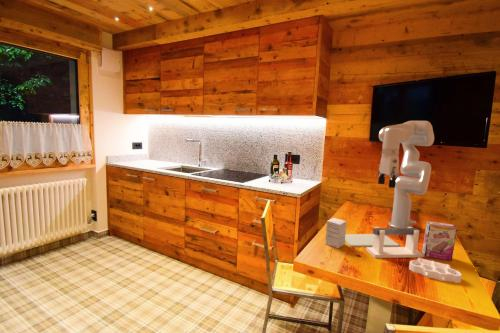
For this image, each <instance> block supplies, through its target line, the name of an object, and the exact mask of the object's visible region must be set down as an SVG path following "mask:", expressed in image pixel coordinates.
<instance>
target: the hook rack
mask: <svg viewBox="0 0 500 333" xmlns="http://www.w3.org/2000/svg"><path fill="white" fill-rule="evenodd" d="M374 228H381V227H380V226H374ZM408 228H414V227H413V226H411V227H408ZM373 234H374V233H373ZM384 236H385V231H384V230H380V233H379V235H375V234H374V238H373V246H365V251H367V252H368V254H370V255H371V256H372V257H373V258H374V259H383V258H384V259H386V258H388V259H389V258H391V259H392V258H395V259H396V258H398V259H399V258H424V254H423V253H422V252H420V251H419V250H418V245H419V236H420V235H419V231H418V230H414V234H413V235H406V238H405V246H384Z"/></svg>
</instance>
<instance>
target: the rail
mask: <svg viewBox="0 0 500 333" xmlns="http://www.w3.org/2000/svg"><path fill="white" fill-rule="evenodd" d="M380 230H384V231H385V235H386V236H407V235H413V234H414V230H418V231H419V236H420V235H421V234H420V233H421V229H419V228H418V227H413V228H393V227H386V228H385V227H382V228H381V227H380V228H375V227H374V228H373V229H372V234H375V235H379V233H380Z"/></svg>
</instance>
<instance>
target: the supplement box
mask: <svg viewBox="0 0 500 333" xmlns="http://www.w3.org/2000/svg"><path fill="white" fill-rule="evenodd" d="M345 234H347V221H346V220H344V219H340V218H336V217H333V218H330V219H329V220H326V232H325V245H328V246H330V247H334V248H336V249H339V248H341V247H342V246H345V244H346V242H345Z"/></svg>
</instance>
